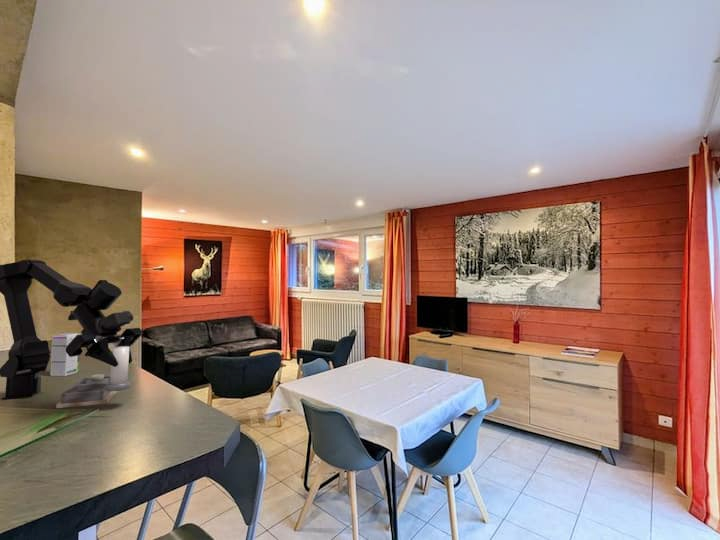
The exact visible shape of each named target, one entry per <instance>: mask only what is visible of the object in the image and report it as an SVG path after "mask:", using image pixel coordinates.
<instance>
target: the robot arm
mask: <svg viewBox="0 0 720 540" xmlns="http://www.w3.org/2000/svg"><path fill="white" fill-rule="evenodd" d="M33 279H34V280H35V281H36V282H38V283H40V284H41V285H42V286H44V287H45V288H46V289H48V290H50V291H51V292H52V293H53V299H54V300H55V301H56V303H58V304H59V305H60V306H61V307H65V308H66V307H75V308H74V309H73V310H70V312H69V313H70V314H69V315H68V317H67V321H77V322H78V324H79V325H80V326H81V328H82V330H81V331H80V333H79V334H80V335H76V337H75V338H74V339H73V340H72V341H71V342H70V343H69V344H68V345H67V346H66V352H67V354H68V355H69V357H73V356H78V355H79V356H81V355H82V354H83V349H82V348H85V349H86V352H85V353H84V356H85V357H89V358H93V359H95V360H98V361H101V362H103V363H105V364H108V365H110V367H111V366H114V367H116V366H117V365H118V362H117V360H116V358H115V357H114V355H113V354H112V349H110V348H109V345H110V344H112V345H113V347H119V346H128V347H129V363H128V364H131V363H132V362H133V357H132V352H131V346H133V345H134V344H135V343H136V342H137V341H138V339H139V338H140V337H141V336H143V334H144V332H143V330H142V329H141V328H140V327H131V328H125V330H124V331H122V333H120V332H121V330H122V327H123V326H125V325H128V324H129V325H130V324H131V322H132V321H134V315H133V314H132V312H131V311H130V310H123V312H122V311H121V312H113V313H110V314H109V315H107V316H106V315H105V314H104V312H103V311H106V310H108V309H109V308H110V307H111V306H112V305H114V303H115V302H116V300H118V299H119V298H120V296H121V295H122V290H121V288H120V287H119V286H117V285H115V284H114V283H110V282H108V280H106V279H99V280H98V281H97V282H96V284H95V285H94V286H93V288H91V287H90V286H87V285H85V284H82V283H78V282H75V281H71V280H69V279H68V278H67V277H65V276H63V275H62V274H61V273H59V272H58V271H57V270H55V269H53V268H52V267H51V266H49V265H48V264H47V263H46V261H43V260H40V259H30V258H26V259H22V260H19V261H15V262H10V263H4V264H0V294H1V295H3V298H4V302H5V306H6V310H7V317H8V320H9V325H10V330H11V334H12V335H11V336H12V340H13V344H12V345H11V347H10V349H9V350H8V352H7V354H8V355H7V356H8V359H7V360H6V361H5V363H4V364H2V366H1V367H0V378H6V383H5V395H4V396H3V397H1V400H11V399H24V398H32V397H34V396H35V395H37V394H38V393H40V392H41V388H42V387H41V386H42V377H41V376H40V372H41V373H42V372H46V369H47V367H48V364H49V362H50V361H51V353H52V351H51V350H50V347H49V341H48V340H47V339H45V340H41V339H40V338H39V337H38V335H37V331H36V330H37V329H36V326H35V322H34V321H35V320H34V317H33V313H32V308H31V304H30V300H29V295H28V291H29V289H30V287H31V285H32V284H33ZM118 333H119V334H118Z"/></svg>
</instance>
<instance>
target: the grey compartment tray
mask: <svg viewBox="0 0 720 540" xmlns="http://www.w3.org/2000/svg"><path fill="white" fill-rule="evenodd" d="M108 382H110V375H106V376H105V374H103V373H96V374H93V375H91V377H90V376H87V377H83V378H82V379H80V380H79V381H78V382H76V383H75V384H74V385H72V386H71V387H70V388H68V389H67V390H66V391H64V392H63V393H61V398H60V401H58V403H56V404H55V405H56V407H55V408H56V409H63V408H72V407H75V408H76V407H85V406H95V405H105V404H106V403H107V404H108V403H109V402H110V400H112V398H113V397H114V396H115V395H114V394H116V393H117V392H118V391H106V390H105V389H106V383H108Z"/></svg>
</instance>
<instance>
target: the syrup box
mask: <svg viewBox="0 0 720 540" xmlns="http://www.w3.org/2000/svg"><path fill="white" fill-rule="evenodd" d="M80 334H81V333H76V332H75V333H74V332H69V333H63V334H56V335H55V334H54V335H52V338H51V353H50V377H67V376H71V375H74V374H78V373H79V371H80V355H78V356H73V357H69V355H68V354H67V352H66V346H67V345H68V344H69V343H70V342H71V341H72V340H73V339H74V338H75V337H76V335H80Z"/></svg>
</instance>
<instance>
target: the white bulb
mask: <svg viewBox="0 0 720 540" xmlns="http://www.w3.org/2000/svg"><path fill="white" fill-rule="evenodd" d="M111 352H112V354H113V355H114V357H115V358H116V360H117V362H118V365H117V366H116V367H114V366H111V365H110V369H109V371H110V373H109V376H110V382H108V383H106V389H105V390H106V391H117V392H121V391H125V390H129V389H130V388H131V385H132V384H131V383H132V380H128V377H129V364H130V363H129V347H128V346H119V347H115V346H113V347H111Z"/></svg>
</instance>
